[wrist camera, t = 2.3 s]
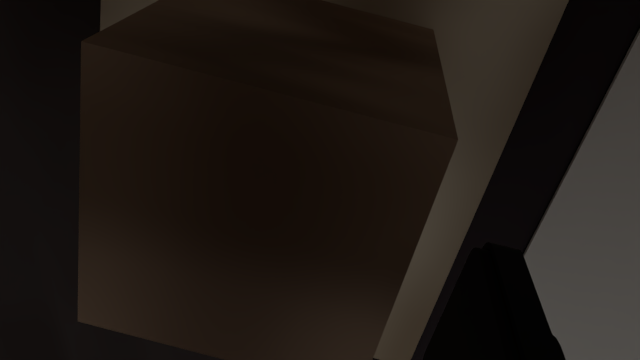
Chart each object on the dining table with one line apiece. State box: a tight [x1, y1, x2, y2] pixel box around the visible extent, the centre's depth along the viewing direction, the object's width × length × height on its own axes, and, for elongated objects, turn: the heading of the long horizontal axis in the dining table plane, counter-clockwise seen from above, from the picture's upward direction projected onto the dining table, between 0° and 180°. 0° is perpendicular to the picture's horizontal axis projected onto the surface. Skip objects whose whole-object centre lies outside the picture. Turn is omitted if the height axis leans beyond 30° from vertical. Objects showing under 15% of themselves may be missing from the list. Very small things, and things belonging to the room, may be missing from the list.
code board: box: [100, 0, 569, 360], centre depth 16 cm, size 12×18×1 cm, turn 167°
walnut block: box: [78, 0, 458, 360], centre depth 13 cm, size 6×6×7 cm
